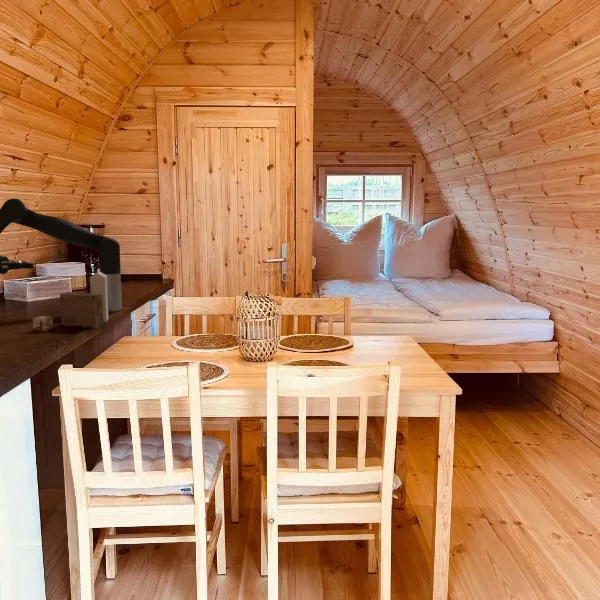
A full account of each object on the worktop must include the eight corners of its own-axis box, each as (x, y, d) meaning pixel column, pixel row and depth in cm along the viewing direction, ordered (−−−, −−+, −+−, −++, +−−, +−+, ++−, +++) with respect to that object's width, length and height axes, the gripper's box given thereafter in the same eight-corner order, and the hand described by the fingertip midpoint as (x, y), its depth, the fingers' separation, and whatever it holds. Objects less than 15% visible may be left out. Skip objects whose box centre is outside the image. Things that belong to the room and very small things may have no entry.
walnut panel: (69, 323, 244) (68, 292, 242) (103, 325, 241) (102, 293, 239) (61, 326, 238) (59, 294, 236) (95, 328, 235) (94, 296, 233)
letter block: (41, 328, 233) (40, 316, 232) (53, 329, 232) (52, 316, 231) (33, 331, 228) (32, 318, 227) (44, 332, 227) (44, 319, 226)
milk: (108, 319, 254) (107, 268, 250) (106, 322, 248) (105, 269, 244) (93, 319, 253) (92, 267, 249) (91, 322, 247) (89, 269, 243)
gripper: (-18, 256, 236) (21, 258, 233) (4, 254, 249) (41, 255, 246) (-17, 275, 238) (22, 276, 234) (6, 272, 250) (42, 273, 247)
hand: (32, 265), depth 240 cm, fingers closed
